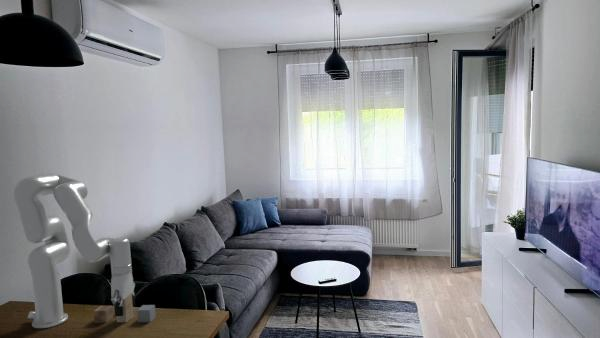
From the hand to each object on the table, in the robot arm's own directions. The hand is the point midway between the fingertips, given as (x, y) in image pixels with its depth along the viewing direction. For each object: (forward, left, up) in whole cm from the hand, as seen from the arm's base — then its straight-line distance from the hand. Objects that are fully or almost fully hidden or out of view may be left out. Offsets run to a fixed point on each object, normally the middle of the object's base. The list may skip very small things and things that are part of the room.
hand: (125, 310), depth 167 cm
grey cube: (+9, 0, -4) cm, 10 cm away
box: (0, 0, -4) cm, 4 cm away
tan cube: (-9, 0, -4) cm, 10 cm away
